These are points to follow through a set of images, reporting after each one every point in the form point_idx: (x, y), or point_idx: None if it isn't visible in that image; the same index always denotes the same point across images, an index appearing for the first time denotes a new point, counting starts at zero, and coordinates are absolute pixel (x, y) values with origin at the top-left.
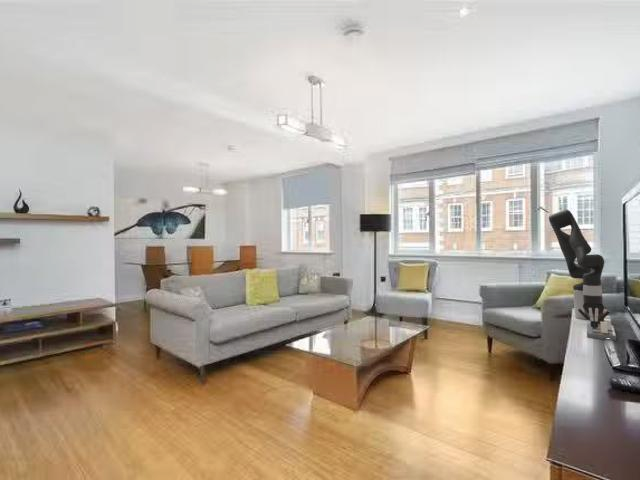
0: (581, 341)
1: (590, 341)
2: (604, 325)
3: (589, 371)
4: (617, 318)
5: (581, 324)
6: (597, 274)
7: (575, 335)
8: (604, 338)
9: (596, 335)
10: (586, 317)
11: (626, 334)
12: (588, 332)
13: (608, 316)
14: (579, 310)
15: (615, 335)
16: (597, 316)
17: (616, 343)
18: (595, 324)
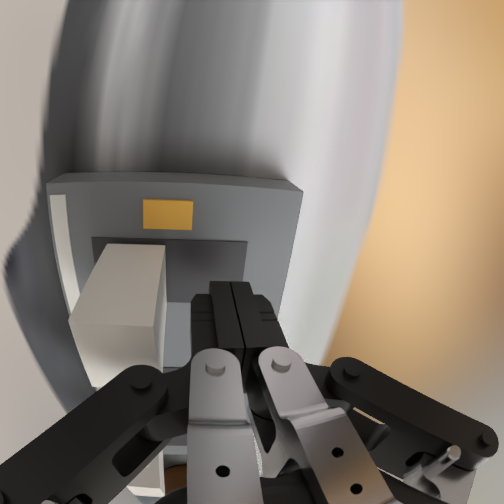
0: (351, 22)
1: (283, 35)
2: (109, 298)
3: None
4: (148, 498)
5: (258, 450)
6: None
7: (361, 218)
8: (146, 173)
9: (214, 181)
10: (366, 379)
11: (53, 372)
12: (280, 240)
13: (139, 493)
14: (489, 435)
15: (52, 217)
16: (197, 428)
17: (75, 59)
18: (222, 313)
